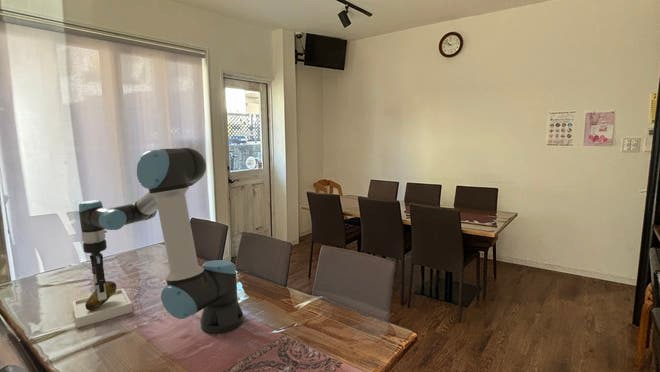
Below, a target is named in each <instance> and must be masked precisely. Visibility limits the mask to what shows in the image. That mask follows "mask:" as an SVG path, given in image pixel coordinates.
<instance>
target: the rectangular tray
mask: <svg viewBox="0 0 660 372" xmlns="http://www.w3.org/2000/svg"><path fill="white" fill-rule="evenodd" d="M89 298H90V296H86V297H83V298H79V299H74V300H72V301H71V302H72V309H73V315H74V319H75V325H76V328H77V329H78V328H82V327H86V326H89V325H92V324H96V323H99V322H102V321H106V320H111V319H113V318H117V317H119V316H120V317H121V316H123V315H127V314H130V313H133V304H132V301H131V300H130V298H129V296H128V294H127V292H126V290H125V289H124V288H123V287H122V288H119V289H116V292H115V293H114V294H113V295H112V296H111V297H110V298H109V299H108V300H107V301H106V302H105V303H103V304H102V305H100V306H99V307H98V308H97V309H95V310H87V309H86V306H85V304H86V302H87V300H88V299H89Z"/></svg>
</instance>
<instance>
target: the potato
mask: <svg viewBox="0 0 660 372" xmlns="http://www.w3.org/2000/svg"><path fill="white" fill-rule="evenodd" d="M105 287H106V296H107V299H104V300H100V301H98V293H97V289H96V290H95V289H94V291H93V292H92V294H90V295H89V297H90V298H89V299H88V300H87V302H86V304H85V306H86V309H87V310H95V309H97V308H98V307H99V306H100V305H102V304H103V303H105V302H106V301H107V300H108V299H109V298H110V297H111V296H112V295H113V294H114V293H115V292H116V290H117V284H116V282H113V281H111V280H110V281H109V280H108V281H106V283H105Z"/></svg>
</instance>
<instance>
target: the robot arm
mask: <svg viewBox="0 0 660 372" xmlns="http://www.w3.org/2000/svg"><path fill="white" fill-rule="evenodd" d="M206 171H207V163H206V159H205V158H204V156H203V154H201V153H200V152H199V151H197V150H196V149H193V148H190V147H181V148H158V149H152V150H148V151H145V152H144V153H143V154H142V155H141V156H140V158H139V160H138V162H137V164H136V176H137V180H138V182H139V183H140V185H141V187H143V188H145V189H146V190H147V189H148V191H147V192H146V193H144V194H143V195H142V196H141V197H140V198H139V199H138V200H137V201H135V202H134V203H128V204H124V205H119V206H114V207H106V208H105V207H104V206H103V203H102V201H101V200H98V199H97V200H95V199H92V200H85V201H81V202H80V203H78V215H79V216H78V217H79V223H80V230H81V231H80V233H81V240H82V241H81V242H83V243H82V247H83V252H84V253H85V254H90V255H89V260H90V264H91V271H92V277H93V286H94V287H93V289H94V291H95V290H96V289H97V293H98V301H100V300H104V299H107V296H106V287H105V283H106V282H107V281H106V277H105V271H104V261H103V260H104V255H103V254H102V252H103V251H106V250H107V248H108V247H107V240H106V233H108V231H117V230H120V229H121V228H123V227H124V226H128V225H130V224H136V223H139V222H142V221H148V220H150V219H154V218H155V217H156V215H157V212H158V216H159V220H160V226H161V232H162V236H163V242H164V246H165V247H164V248H165V253H166V256H167V257H166V258H167V262H168V268H169V273H168V275H167V276H166V277H165V280H166V286H165V287H164V288H163V289H162V291H161V294H160V300H161V303H162V305H163V308H164V309H165V310H166V311H167V313H169V314H170V315H171V316H172V317H174V318H175V319H178V320H179V319H180V320H184V319H186V318H187V319H188V318H190V316H194V315H196V314H197V313H198V312H201V311H202V313H201V317H200V329H201V330H202V331H203V332H205V333H208V334H224V333H228V332H230V331H231V332H232V331H234V330H236V329H237V328H238V327H240V326H241V325H242V324H243V323H244V311H243V310H242V307H241V305H240V302H239V300H238V287H237V286H238V283H237V271H236V270H237V268H236V265H235V263H234V262H232V261H230V260H224V259H217V260H215V259H214V260H209V261H205V262H203V263H202V264H201V266H200V264H199V263H198V258H197V252H196V251H197V250H196V246H195V241H194V236H193V230H192V225H191V221H190V219H191V218H190V214H189V208H188V203H187V198H186V193H187V191H188V190H189V189H190V187H192V186H194V185H195V184H197V182H199V181H200V180H201V179H202V178H203V177H204V175H205V174H206ZM107 230H108V231H107Z"/></svg>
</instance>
